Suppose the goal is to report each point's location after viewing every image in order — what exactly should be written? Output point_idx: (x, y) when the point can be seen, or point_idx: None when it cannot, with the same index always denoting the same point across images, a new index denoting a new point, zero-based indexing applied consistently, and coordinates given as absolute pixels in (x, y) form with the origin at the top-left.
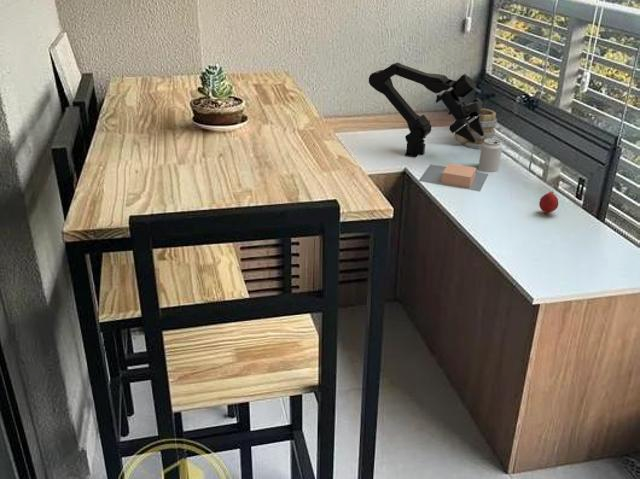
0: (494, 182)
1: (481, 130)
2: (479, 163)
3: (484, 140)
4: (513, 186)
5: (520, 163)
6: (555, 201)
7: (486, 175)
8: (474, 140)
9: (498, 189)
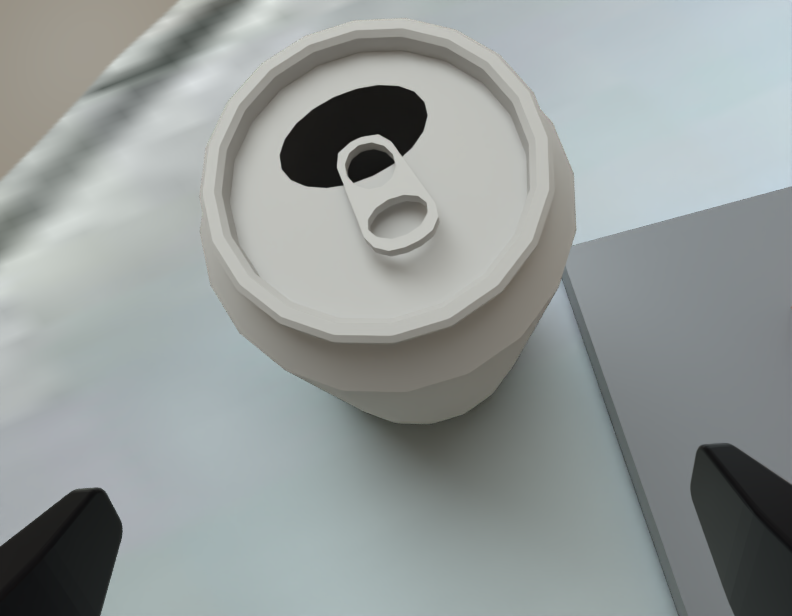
0: (655, 152)
1: (17, 594)
2: (489, 391)
3: (447, 315)
4: (614, 4)
5: (41, 180)
6: None
7: (619, 246)
8: (755, 462)
9: (784, 59)
